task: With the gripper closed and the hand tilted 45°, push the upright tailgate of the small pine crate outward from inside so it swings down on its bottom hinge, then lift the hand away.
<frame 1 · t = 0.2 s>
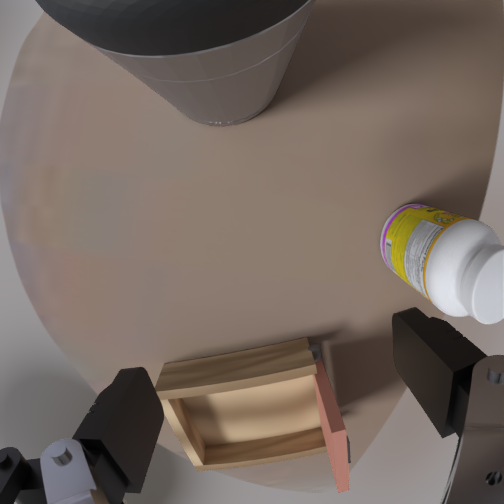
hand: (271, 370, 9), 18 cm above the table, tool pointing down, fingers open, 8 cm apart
tailgate: (333, 427, 24), point 7 cm above the table, hinge at 0.0°
crate: (247, 398, 31), on the table
supplement bottle: (408, 238, 27), on the table
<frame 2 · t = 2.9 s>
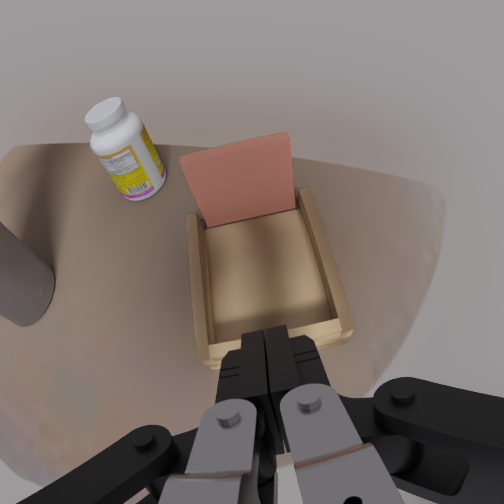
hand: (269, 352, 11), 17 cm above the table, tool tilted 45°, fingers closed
tailgate: (242, 182, 29), point 6 cm above the table, hinge at 0.0°
crate: (266, 286, 31), on the table
supplement bottle: (145, 184, 41), on the table
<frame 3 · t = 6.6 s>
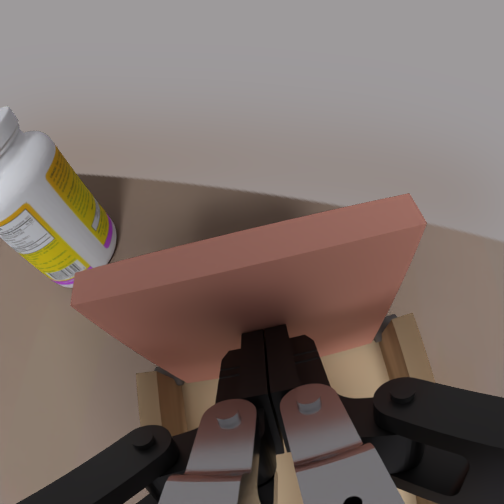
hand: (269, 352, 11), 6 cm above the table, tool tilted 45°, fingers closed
tailgate: (263, 317, 11), point 6 cm above the table, hinge at 2.8°, touching gripper
crate: (307, 494, 12), on the table
supplement bottle: (85, 253, 23), on the table
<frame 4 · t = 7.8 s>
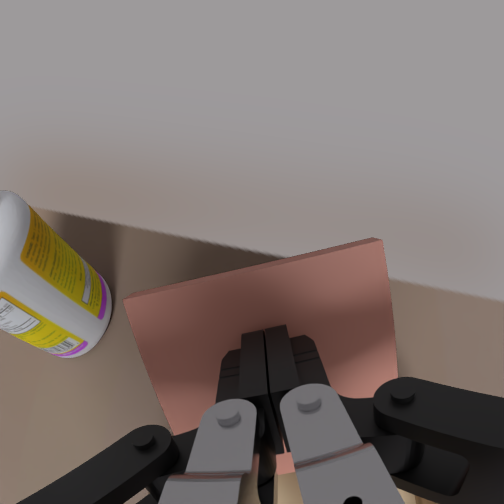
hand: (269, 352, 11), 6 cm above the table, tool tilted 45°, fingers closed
tailgate: (277, 382, 12), point 5 cm above the table, hinge at 51.1°
supplement bottle: (78, 316, 20), on the table
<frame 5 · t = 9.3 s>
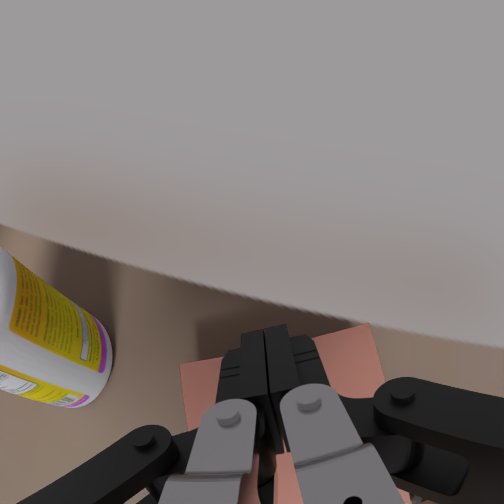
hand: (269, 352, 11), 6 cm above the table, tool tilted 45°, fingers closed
tailgate: (293, 441, 13), point 2 cm above the table, hinge at 88.3°
supplement bottle: (77, 362, 18), on the table
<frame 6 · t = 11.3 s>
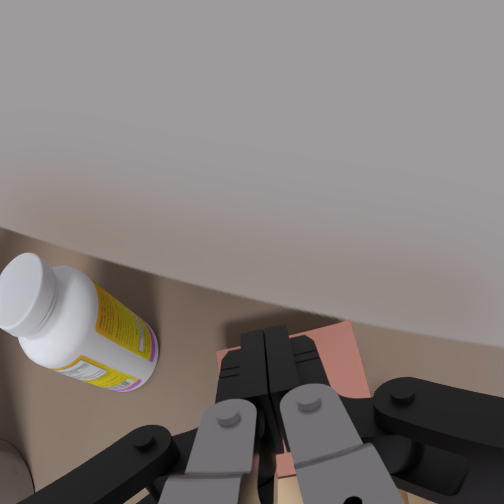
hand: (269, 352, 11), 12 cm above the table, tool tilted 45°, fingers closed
tailgate: (297, 404, 19), point 2 cm above the table, hinge at 88.3°
supplement bottle: (127, 355, 25), on the table
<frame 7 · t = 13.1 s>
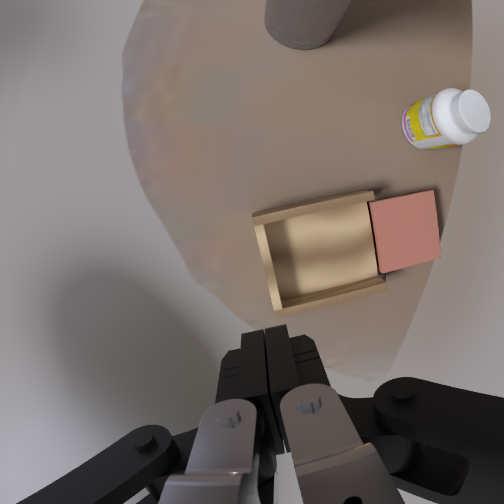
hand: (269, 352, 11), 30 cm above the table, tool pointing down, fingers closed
tailgate: (407, 230, 38), point 2 cm above the table, hinge at 88.3°
crate: (317, 248, 40), on the table
supplement bottle: (420, 126, 37), on the table
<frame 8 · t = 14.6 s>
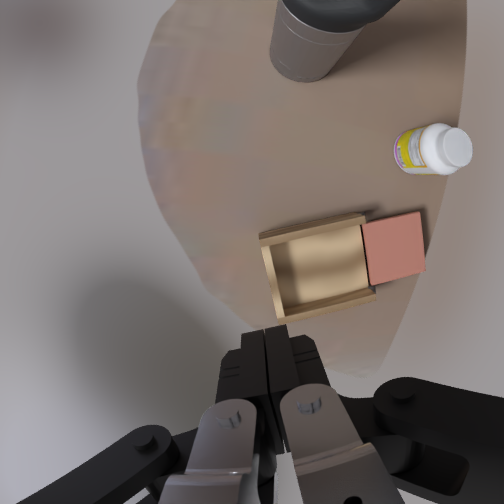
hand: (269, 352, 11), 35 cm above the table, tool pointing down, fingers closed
tailgate: (395, 247, 44), point 2 cm above the table, hinge at 88.3°
crate: (315, 263, 46), on the table
supplement bottle: (410, 152, 43), on the table
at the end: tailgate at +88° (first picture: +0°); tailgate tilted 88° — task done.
